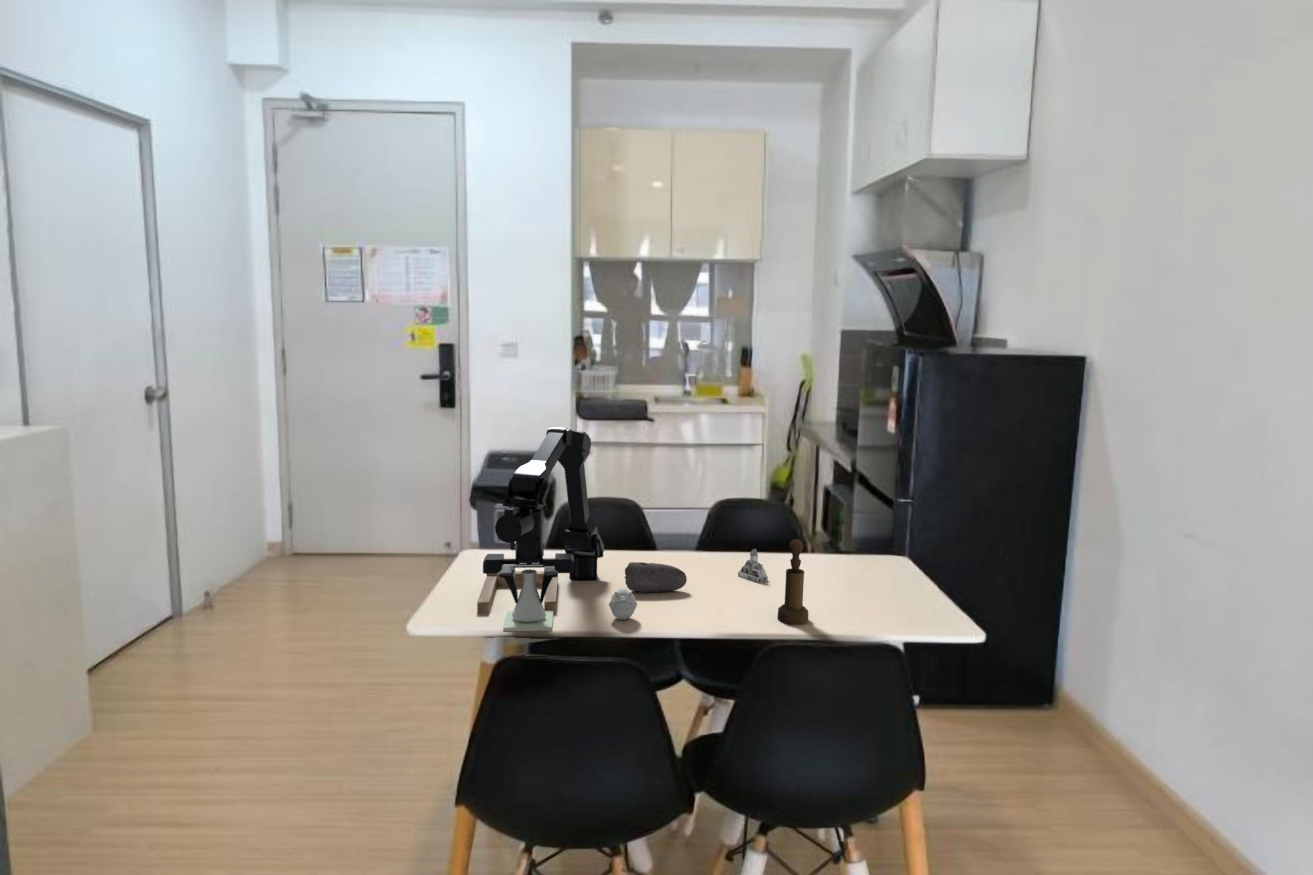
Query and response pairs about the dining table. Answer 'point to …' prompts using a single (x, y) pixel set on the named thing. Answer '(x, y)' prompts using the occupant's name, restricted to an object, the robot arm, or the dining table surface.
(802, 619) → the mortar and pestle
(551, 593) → the frame
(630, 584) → the perforated stone tool
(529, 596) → the flask
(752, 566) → the grey temple model
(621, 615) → the frog figurine
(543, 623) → the pad
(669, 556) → the dining table surface
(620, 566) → the dining table surface
